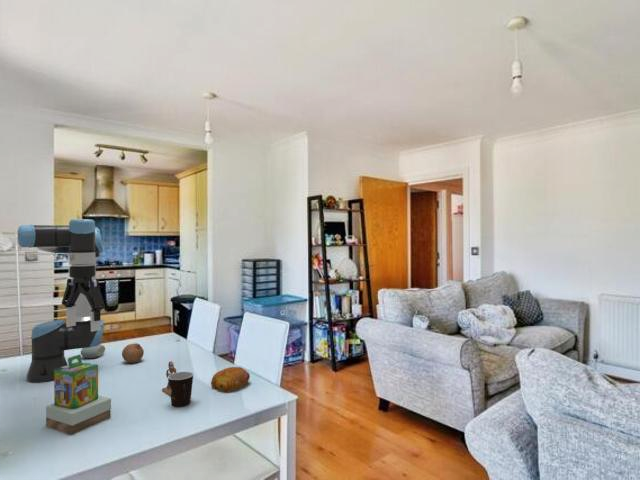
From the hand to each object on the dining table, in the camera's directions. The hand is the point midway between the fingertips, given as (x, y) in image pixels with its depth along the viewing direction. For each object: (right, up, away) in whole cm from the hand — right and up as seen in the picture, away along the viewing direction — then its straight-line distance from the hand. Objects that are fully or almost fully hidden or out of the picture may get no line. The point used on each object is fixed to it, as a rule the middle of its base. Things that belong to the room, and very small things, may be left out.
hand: (83, 328), depth 135 cm
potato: (+43, -29, +27) cm, 59 cm away
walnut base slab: (+2, -30, -5) cm, 30 cm away
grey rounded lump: (-35, -29, +67) cm, 81 cm away
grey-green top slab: (+2, -26, -5) cm, 27 cm away
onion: (-10, -29, +58) cm, 65 cm away
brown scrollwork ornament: (+23, -29, +19) cm, 41 cm away
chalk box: (+1, -23, -5) cm, 24 cm away
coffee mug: (+30, -29, +7) cm, 42 cm away
